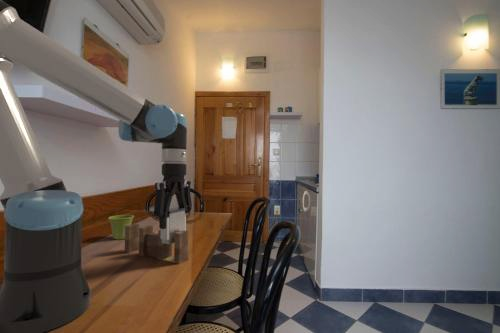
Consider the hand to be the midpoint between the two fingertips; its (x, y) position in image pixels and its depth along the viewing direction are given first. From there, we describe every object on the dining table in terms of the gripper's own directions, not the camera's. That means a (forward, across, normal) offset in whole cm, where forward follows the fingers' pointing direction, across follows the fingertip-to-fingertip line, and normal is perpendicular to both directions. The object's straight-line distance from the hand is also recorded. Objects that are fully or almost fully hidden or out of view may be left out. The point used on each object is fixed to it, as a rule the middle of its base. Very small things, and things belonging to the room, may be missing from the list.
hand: (173, 235), depth 79 cm
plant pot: (+8, +10, +37) cm, 39 cm away
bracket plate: (+2, 0, 0) cm, 2 cm away
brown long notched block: (+7, 0, +8) cm, 11 cm away
